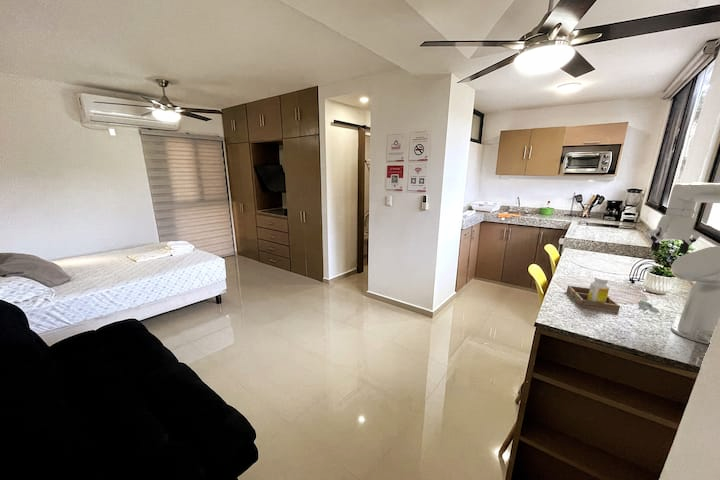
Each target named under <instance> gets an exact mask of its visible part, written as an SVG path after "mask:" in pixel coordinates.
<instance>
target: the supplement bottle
mask: <svg viewBox="0 0 720 480" xmlns="http://www.w3.org/2000/svg"><path fill="white" fill-rule="evenodd" d="M608 282H609V279H608V278H606V277H604V276H595V277H594V281H591V283H590V285H589V288H590V290H589V294H588V299H587V301H594V302H601V303H606V300H607V296H609V291H610V285H609V284H608Z"/></svg>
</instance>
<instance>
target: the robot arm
mask: <svg viewBox="0 0 720 480" xmlns="http://www.w3.org/2000/svg"><path fill="white" fill-rule="evenodd" d="M697 203H701V204H702V203H708V204H710V203H711V204H720V183H719V182H717V183H716V182H693V183H691V182H688V183H687V182H685V183H684V182H683V183H682V182H681V183H680V182H679V183H675V184H673V187H672V189H671V194H670V197H669V201H668V204H667V207H666V208H667V209H666V212H665V214H662V216H661V217H660V219H659V221H658V223H657V226H656V228H655V229H651V230H648V231H647V235H648V238H649V239H650V240H651V242H652V243H651V247H650V248H651V251H653V252H659V250H660V246H661V241H663V240H676V241H677V240H678V241H681V242H682V243H680V245H679V248H678V249H679V250H678V253H680V254H683V255H681V256H679V257H677V258H676V259H674V261H672V263H671V265H670V266H671V267H670V268H671V269H670V270H671V273H672V275H674V276H675V277H676V278H678V279H679V280H682V281H687V282H695V283H693V285H692V286H691V287H690V288H689V291H688V294H687V297H686V299H685V303H684V305H683V309H682V312H681V316H680V318H679V322H678V324H673V325H671V327H670V329H671V331H672V332H673V333H675V334H676V335H678V336H680V337H683V338H685V339H687V340H689V341H693V342H697V343H700V344H705V345H710V344H709V343H710V340H711V337H712V334H713V331H714V329H715V326H716V324H717V321H718V317H719V315H720V245H716V246H709V247H704V248H702V249H698V250H696V251H692V252H690V253H689V252H688V251H689V247H690V246H691V245H693V243H695V242H697V240H698V239H699V238H700V237H701V234H699V233H697V232H695V231H693V230H694V223H695V218H694V216H693V215H696V214H697V213H698V212H697V211H696V210H695V209H696V205H697Z"/></svg>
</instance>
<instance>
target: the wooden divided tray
mask: <svg viewBox="0 0 720 480" xmlns="http://www.w3.org/2000/svg"><path fill="white" fill-rule="evenodd" d="M589 290H590V287H582V286H576V285H567V288H566V292H567V294H568V295H569V296H570V298H572V300H573V301H575V303H576V304H577V305H578V306H579V307H580V308H581V309H582V308H583V309H589V310H597V311H603V312H609V313H614V314H615V313H616V314H618V313H620V307H621V305H620V304H618V303H617V302H616V301H615V300H614V299H612V298H611V297H610V296H609V295H608V296H607V300H606V303H601V302H594V301H587V299H588V294H589Z"/></svg>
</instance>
